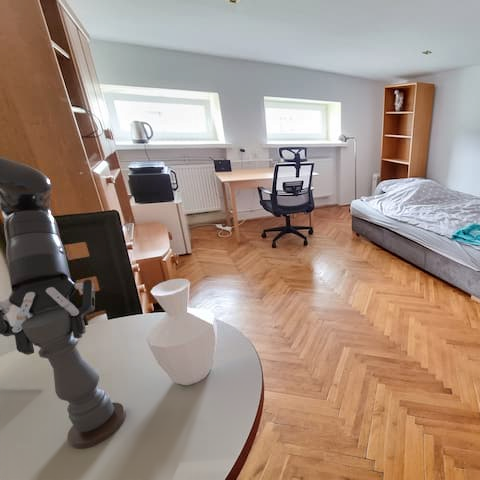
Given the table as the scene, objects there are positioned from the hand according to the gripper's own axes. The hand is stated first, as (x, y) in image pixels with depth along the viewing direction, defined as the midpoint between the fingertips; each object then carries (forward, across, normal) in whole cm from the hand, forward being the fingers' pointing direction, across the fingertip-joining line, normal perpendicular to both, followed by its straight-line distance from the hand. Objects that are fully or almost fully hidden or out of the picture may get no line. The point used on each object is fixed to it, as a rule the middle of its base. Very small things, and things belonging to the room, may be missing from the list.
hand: (54, 344), depth 50 cm
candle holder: (+13, 0, -16) cm, 21 cm away
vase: (+13, -19, -20) cm, 30 cm away
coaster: (+15, 0, -17) cm, 23 cm away
